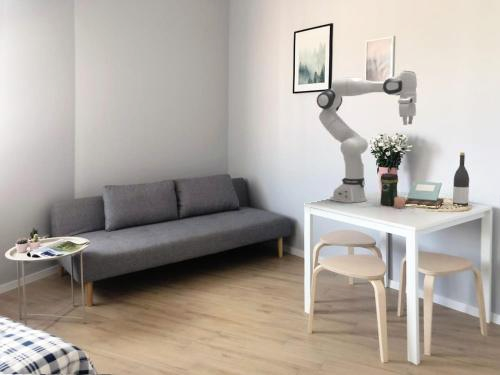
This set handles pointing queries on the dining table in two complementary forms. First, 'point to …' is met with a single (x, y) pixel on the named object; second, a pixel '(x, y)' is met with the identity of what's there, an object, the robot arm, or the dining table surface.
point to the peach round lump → (399, 202)
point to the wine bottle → (461, 184)
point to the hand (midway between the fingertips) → (407, 124)
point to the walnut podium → (425, 202)
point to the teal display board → (424, 191)
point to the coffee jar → (388, 188)
